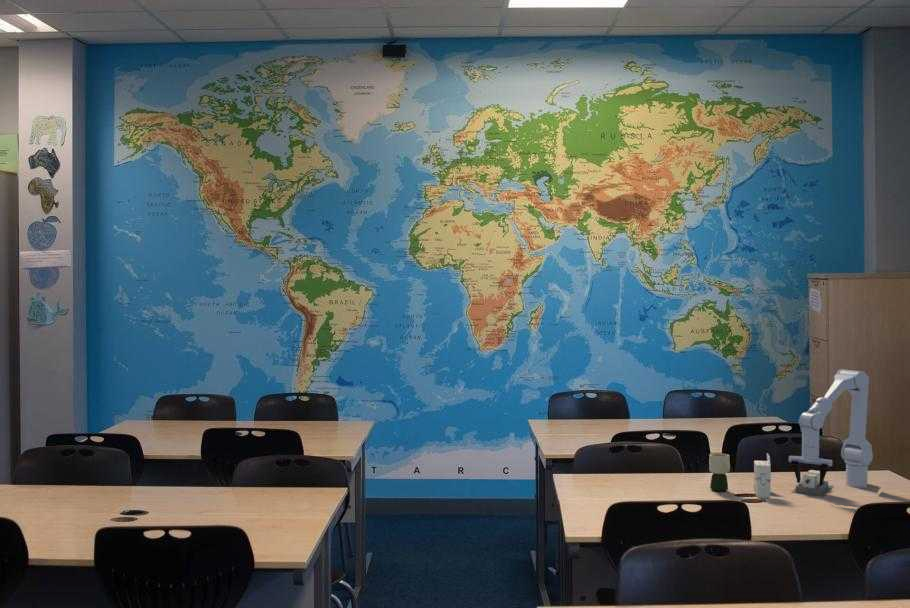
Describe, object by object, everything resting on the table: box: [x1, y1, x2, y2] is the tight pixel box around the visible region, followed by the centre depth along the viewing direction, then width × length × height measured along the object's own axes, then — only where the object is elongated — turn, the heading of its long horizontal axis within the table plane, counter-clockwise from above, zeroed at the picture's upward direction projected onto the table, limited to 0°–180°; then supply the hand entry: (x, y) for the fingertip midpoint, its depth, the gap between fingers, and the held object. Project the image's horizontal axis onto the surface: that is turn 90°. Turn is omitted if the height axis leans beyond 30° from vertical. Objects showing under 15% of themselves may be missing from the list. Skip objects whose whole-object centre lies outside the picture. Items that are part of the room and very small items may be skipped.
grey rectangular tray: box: [790, 480, 835, 498], centre depth 329 cm, size 20×11×3 cm, turn 147°
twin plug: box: [806, 469, 820, 485], centre depth 332 cm, size 7×4×6 cm, turn 147°
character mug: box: [708, 452, 731, 492], centre depth 331 cm, size 11×7×13 cm, turn 23°
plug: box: [801, 473, 817, 489], centre depth 324 cm, size 7×4×6 cm, turn 147°
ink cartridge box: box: [753, 452, 772, 499], centre depth 323 cm, size 9×5×15 cm, turn 168°
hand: (809, 483), depth 325 cm, fingers open, 7 cm apart
